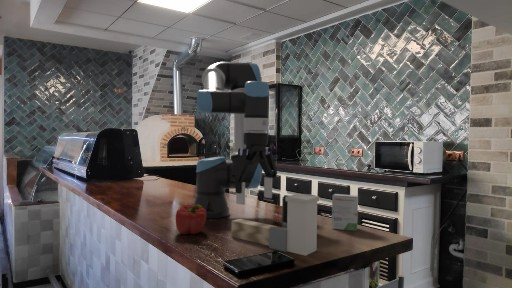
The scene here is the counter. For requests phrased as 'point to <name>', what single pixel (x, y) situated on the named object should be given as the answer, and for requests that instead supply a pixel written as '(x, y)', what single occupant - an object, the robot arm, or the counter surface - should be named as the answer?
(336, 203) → the ink box
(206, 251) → the counter surface
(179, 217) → the vegetable
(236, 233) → the rail
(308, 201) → the grey forked bracket
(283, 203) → the mug
